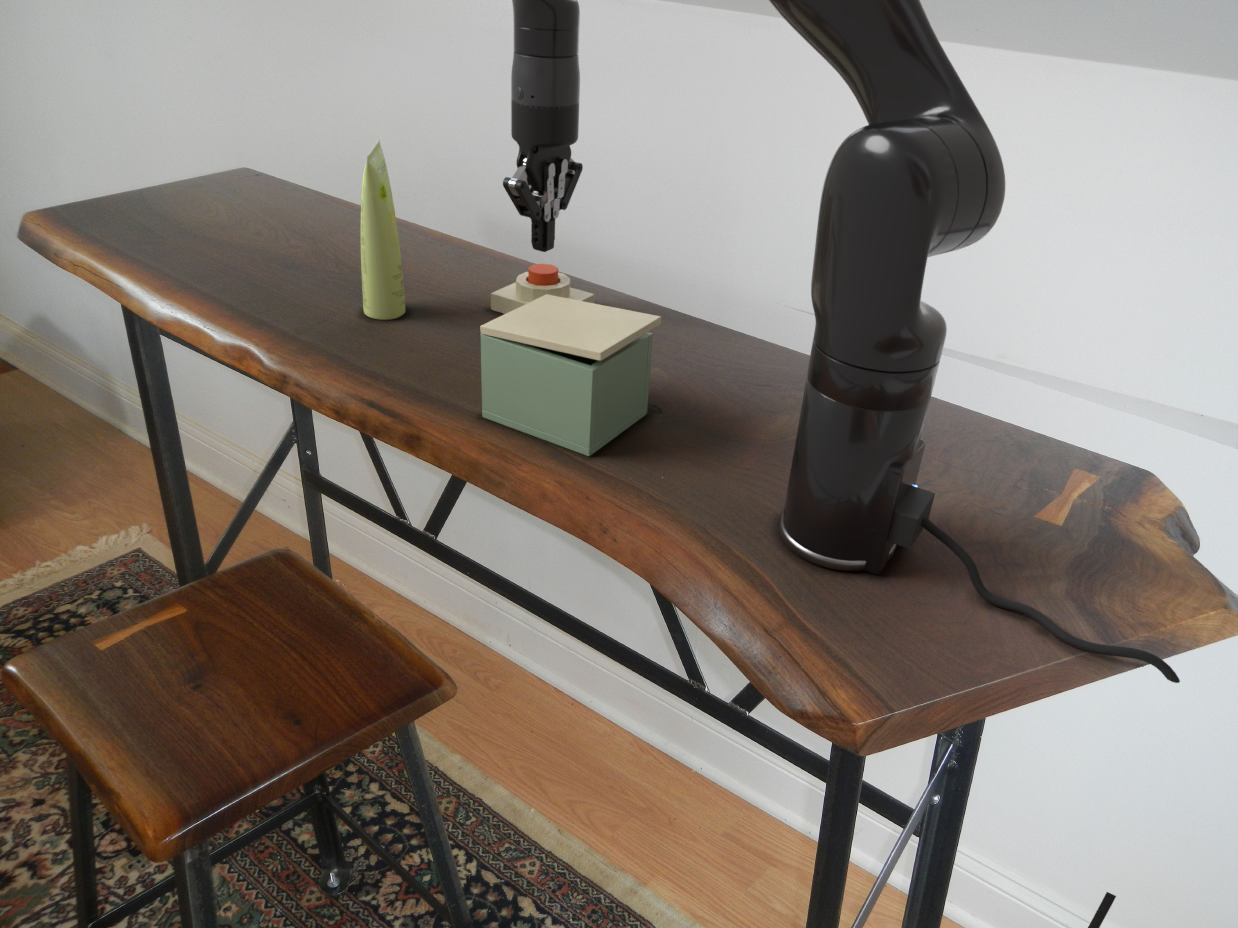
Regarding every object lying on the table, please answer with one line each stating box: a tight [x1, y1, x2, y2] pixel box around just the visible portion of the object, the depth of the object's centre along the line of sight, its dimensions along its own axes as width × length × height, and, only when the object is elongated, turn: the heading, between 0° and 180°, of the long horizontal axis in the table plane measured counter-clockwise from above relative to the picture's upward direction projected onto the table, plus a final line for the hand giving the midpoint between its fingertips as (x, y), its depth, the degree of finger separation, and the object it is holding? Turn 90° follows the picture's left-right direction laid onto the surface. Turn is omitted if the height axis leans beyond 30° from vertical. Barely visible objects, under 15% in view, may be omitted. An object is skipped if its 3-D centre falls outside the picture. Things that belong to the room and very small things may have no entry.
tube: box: [360, 139, 406, 321], centre depth 110 cm, size 6×5×20 cm
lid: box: [479, 294, 662, 361], centre depth 90 cm, size 13×11×1 cm
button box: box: [490, 271, 596, 315], centre depth 117 cm, size 10×8×4 cm
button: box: [527, 263, 559, 286], centre depth 116 cm, size 4×4×2 cm
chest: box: [480, 331, 654, 457], centre depth 93 cm, size 13×11×9 cm
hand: (543, 249), depth 114 cm, fingers closed
